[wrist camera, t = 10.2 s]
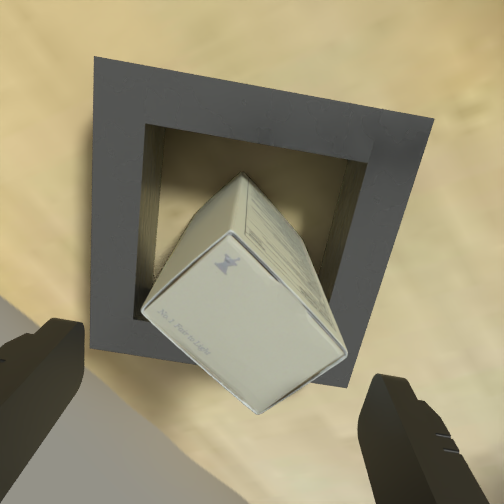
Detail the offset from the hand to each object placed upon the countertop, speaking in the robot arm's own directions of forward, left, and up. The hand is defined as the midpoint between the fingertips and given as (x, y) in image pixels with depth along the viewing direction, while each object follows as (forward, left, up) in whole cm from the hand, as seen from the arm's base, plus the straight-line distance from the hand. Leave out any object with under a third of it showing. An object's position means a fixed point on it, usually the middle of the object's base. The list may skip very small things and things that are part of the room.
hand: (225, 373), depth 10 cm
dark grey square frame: (0, 0, -14) cm, 14 cm away
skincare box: (0, 0, -15) cm, 15 cm away
